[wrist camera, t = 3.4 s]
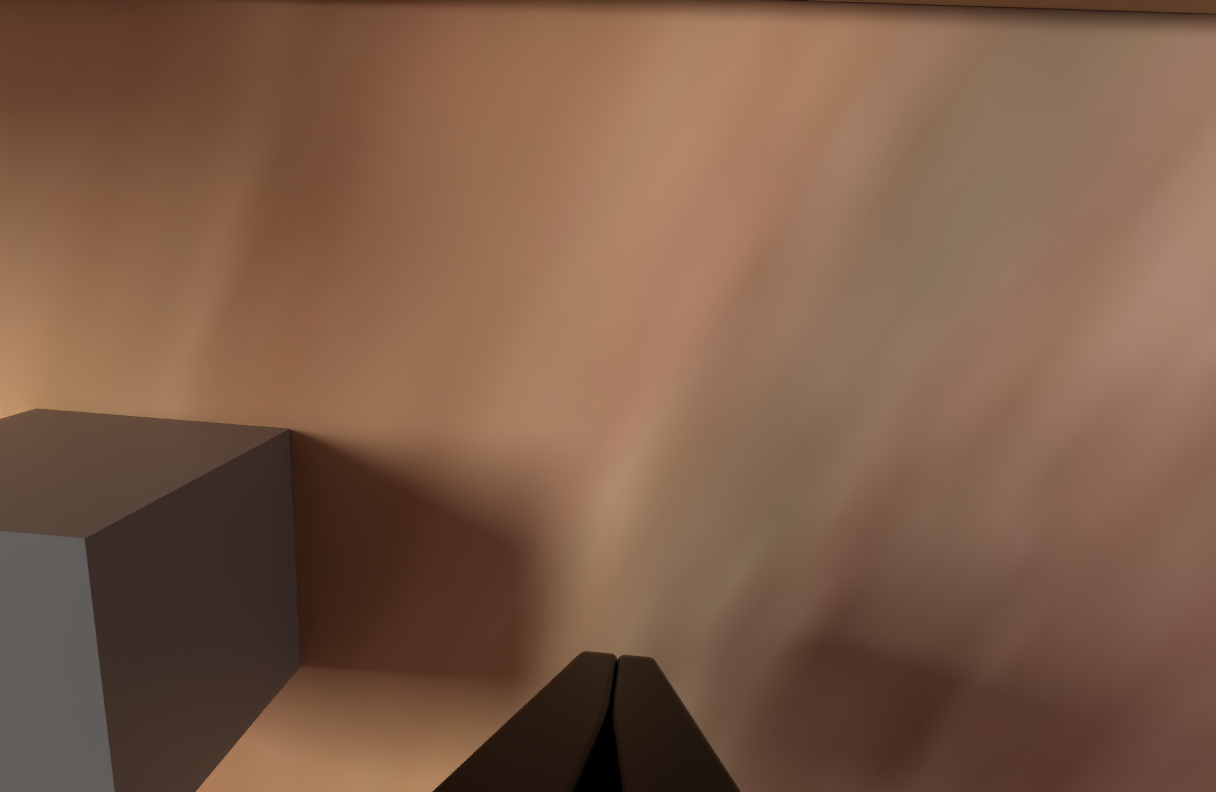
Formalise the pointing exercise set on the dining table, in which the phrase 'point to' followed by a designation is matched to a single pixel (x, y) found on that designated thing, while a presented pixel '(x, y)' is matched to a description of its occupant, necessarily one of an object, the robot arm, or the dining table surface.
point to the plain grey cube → (139, 597)
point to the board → (1075, 4)
